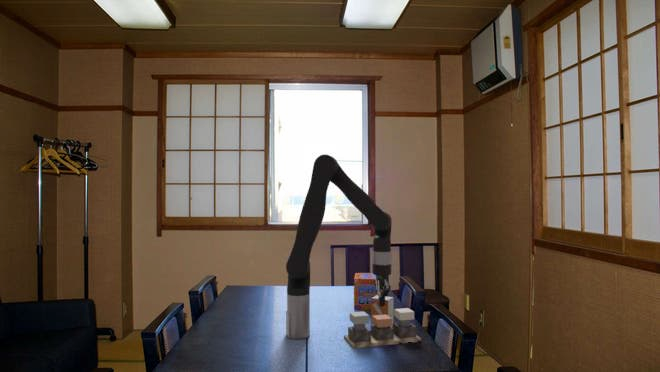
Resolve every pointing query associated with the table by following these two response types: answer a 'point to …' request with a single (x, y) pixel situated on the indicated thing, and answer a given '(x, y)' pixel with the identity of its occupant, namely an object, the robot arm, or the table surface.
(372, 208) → the robot arm
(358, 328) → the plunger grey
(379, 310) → the small box
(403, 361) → the table surface
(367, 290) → the game box
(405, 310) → the plunger cream
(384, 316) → the plunger terracotta
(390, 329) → the button board
